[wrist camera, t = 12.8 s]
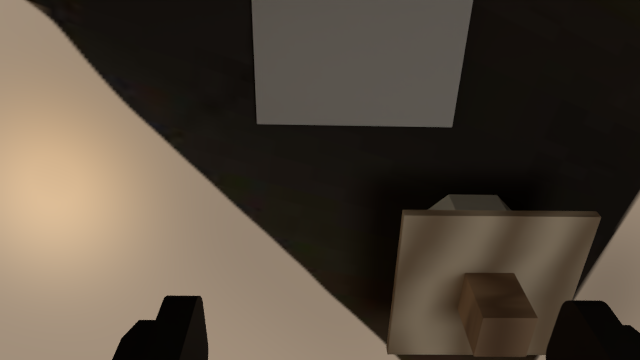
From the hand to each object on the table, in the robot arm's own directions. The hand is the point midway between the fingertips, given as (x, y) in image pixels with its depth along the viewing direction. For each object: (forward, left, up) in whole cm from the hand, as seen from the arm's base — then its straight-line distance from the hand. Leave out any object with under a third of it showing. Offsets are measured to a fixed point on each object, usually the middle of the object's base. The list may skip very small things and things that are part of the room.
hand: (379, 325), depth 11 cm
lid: (-13, +20, -24) cm, 34 cm away
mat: (-2, 0, -30) cm, 30 cm away
